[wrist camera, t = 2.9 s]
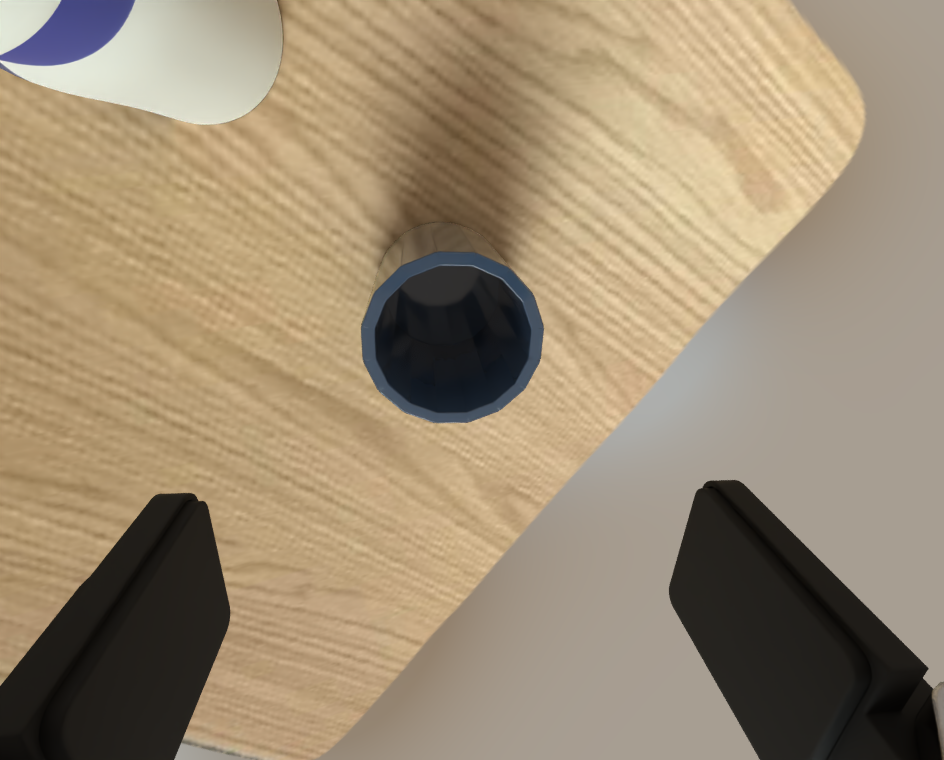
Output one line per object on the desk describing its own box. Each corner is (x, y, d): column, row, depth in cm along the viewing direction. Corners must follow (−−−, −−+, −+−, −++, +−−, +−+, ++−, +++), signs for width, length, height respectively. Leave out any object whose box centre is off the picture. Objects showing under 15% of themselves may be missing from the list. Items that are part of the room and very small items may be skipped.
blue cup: (374, 219, 24) (356, 249, 16) (509, 223, 25) (552, 253, 17) (379, 348, 27) (366, 425, 19) (500, 348, 28) (534, 421, 20)
